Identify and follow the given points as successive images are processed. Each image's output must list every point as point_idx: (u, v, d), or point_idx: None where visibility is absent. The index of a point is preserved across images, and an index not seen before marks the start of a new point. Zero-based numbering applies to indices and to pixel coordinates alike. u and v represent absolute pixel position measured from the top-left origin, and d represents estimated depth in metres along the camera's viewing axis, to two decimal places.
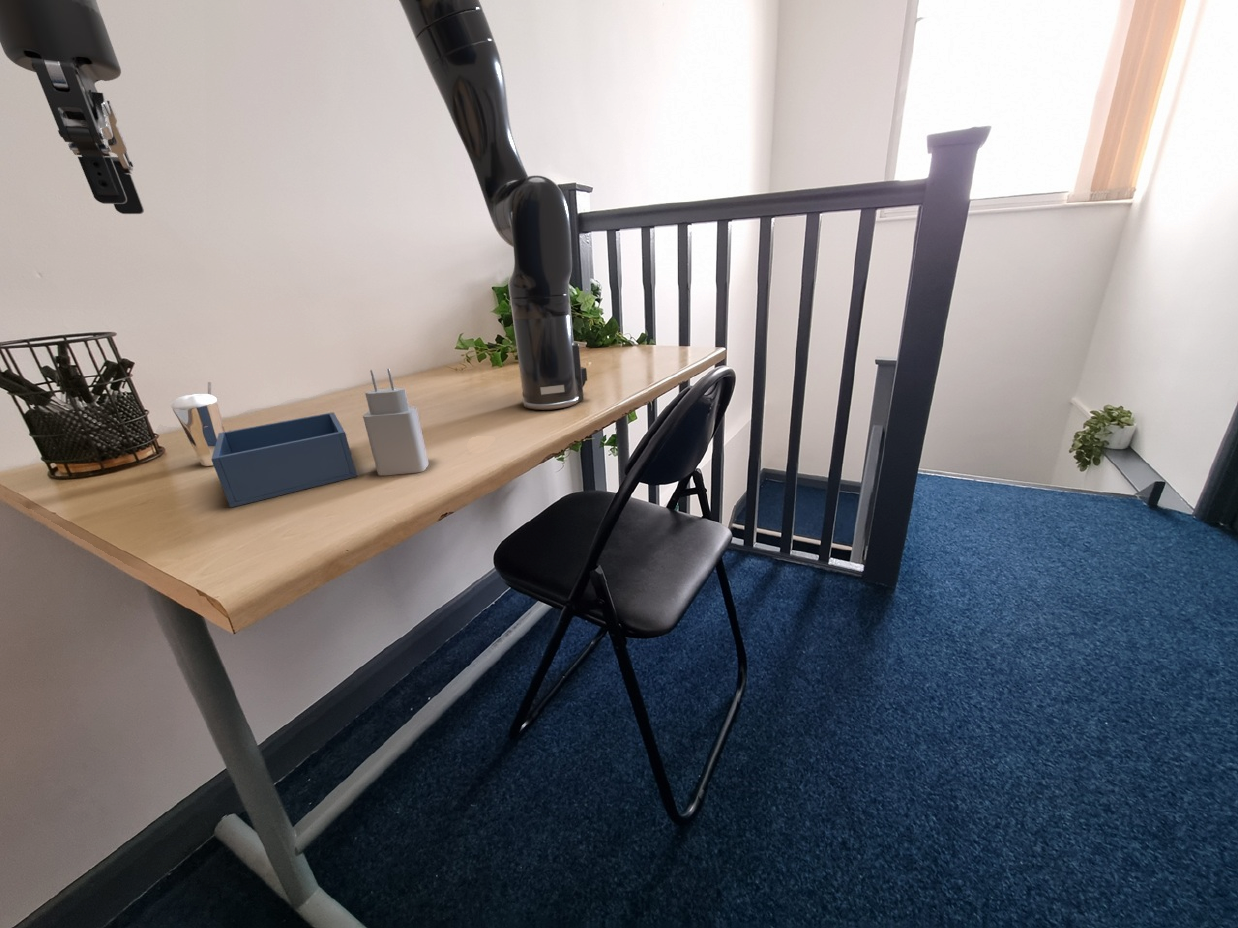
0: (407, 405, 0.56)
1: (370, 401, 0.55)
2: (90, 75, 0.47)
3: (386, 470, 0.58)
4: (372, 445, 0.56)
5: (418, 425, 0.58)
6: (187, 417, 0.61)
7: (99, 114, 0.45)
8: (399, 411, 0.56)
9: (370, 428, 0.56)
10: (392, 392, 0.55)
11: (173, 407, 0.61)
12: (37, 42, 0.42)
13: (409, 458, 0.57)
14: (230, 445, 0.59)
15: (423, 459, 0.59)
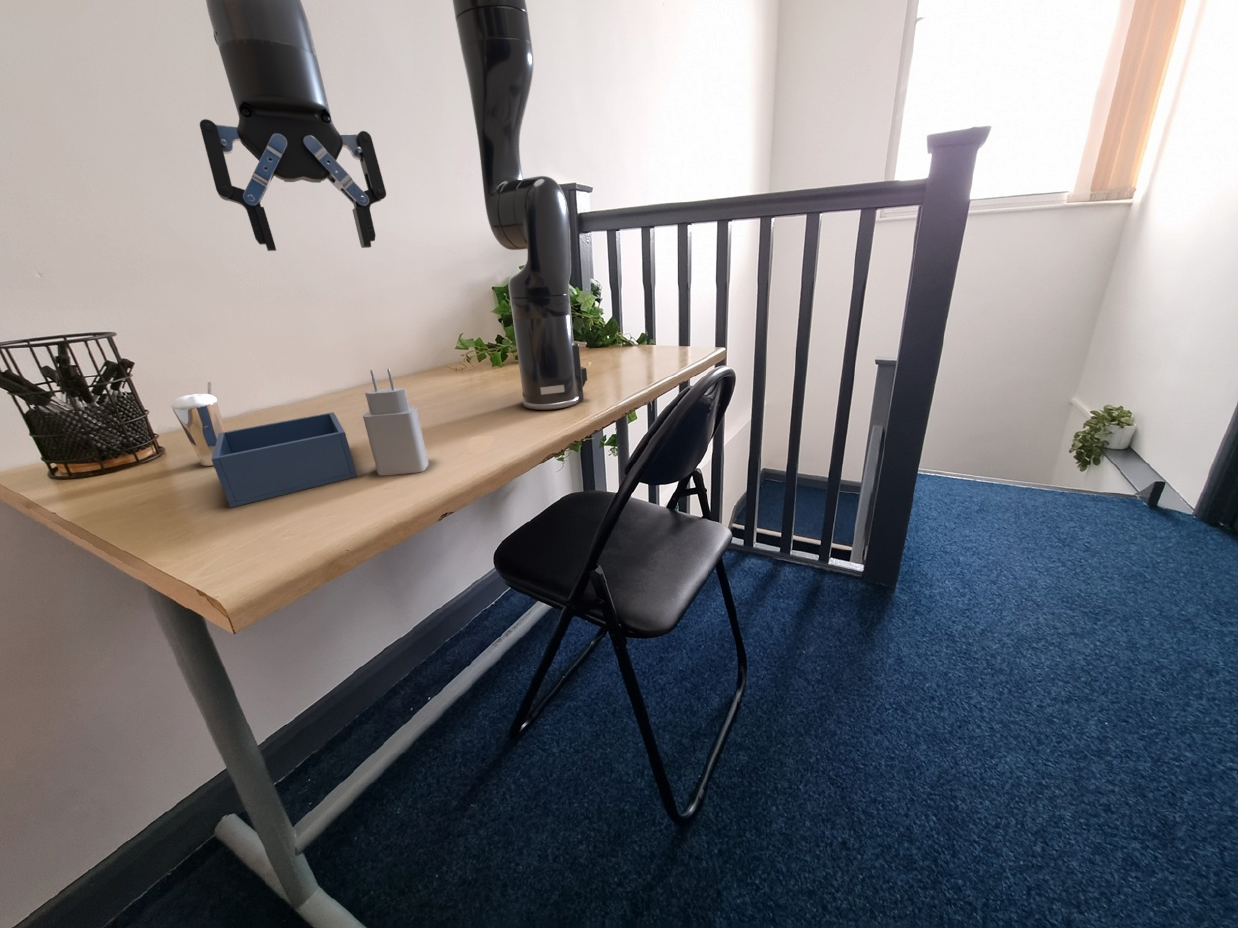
0: (407, 405, 0.56)
1: (370, 401, 0.55)
2: (293, 113, 0.45)
3: (386, 470, 0.58)
4: (372, 445, 0.56)
5: (418, 425, 0.58)
6: (187, 417, 0.61)
7: (259, 161, 0.45)
8: (399, 411, 0.56)
9: (370, 428, 0.56)
10: (392, 392, 0.55)
11: (173, 407, 0.61)
12: None
13: (409, 458, 0.57)
14: (230, 445, 0.59)
15: (423, 459, 0.59)
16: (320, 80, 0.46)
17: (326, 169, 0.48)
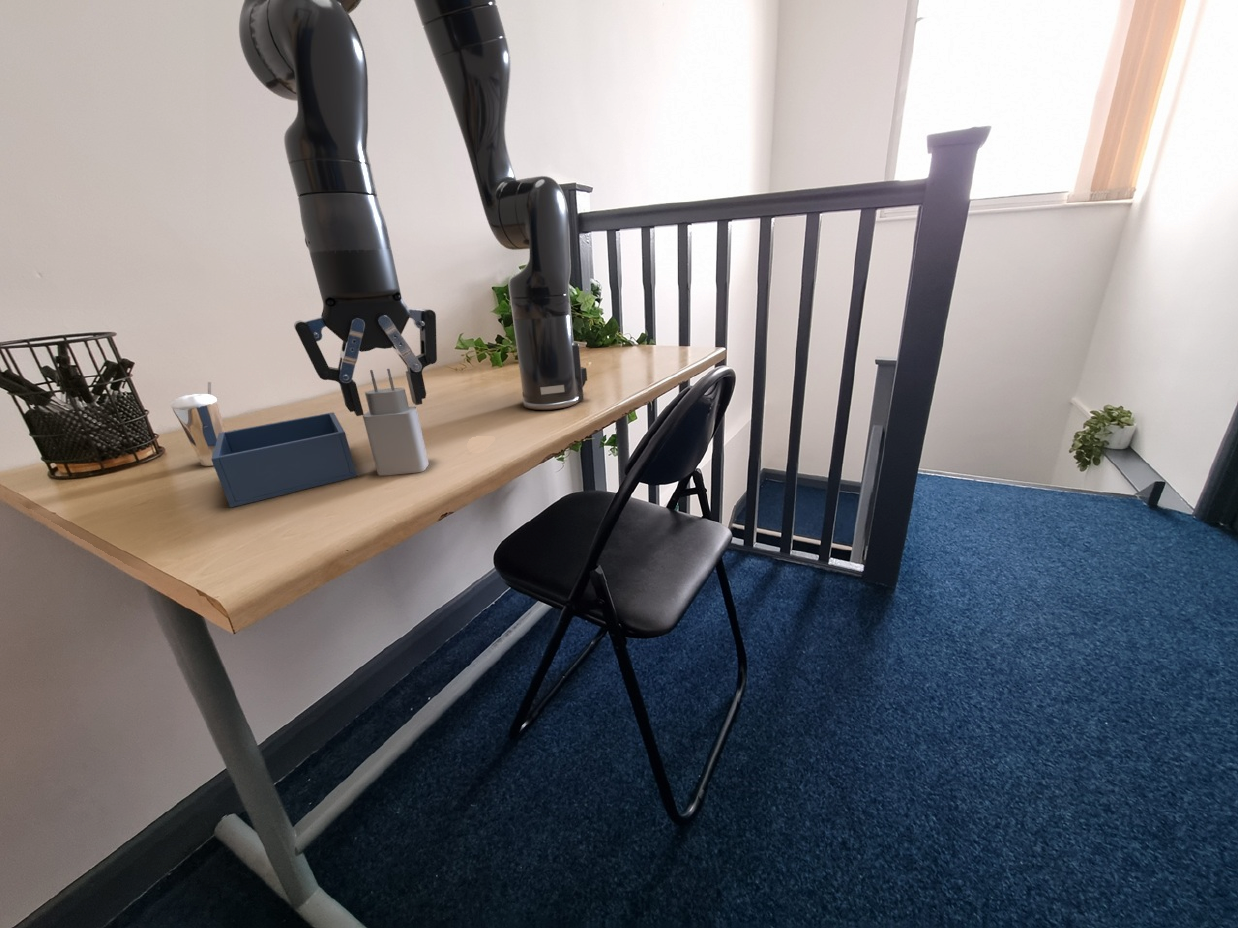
0: (407, 405, 0.56)
1: (370, 401, 0.55)
2: (370, 298, 0.51)
3: (386, 470, 0.58)
4: (372, 445, 0.56)
5: (418, 425, 0.58)
6: (187, 417, 0.61)
7: None
8: (398, 411, 0.56)
9: (370, 428, 0.56)
10: (392, 392, 0.55)
11: (173, 407, 0.61)
12: None
13: (409, 458, 0.57)
14: (230, 445, 0.59)
15: (423, 459, 0.59)
16: (394, 268, 0.51)
17: (396, 339, 0.54)
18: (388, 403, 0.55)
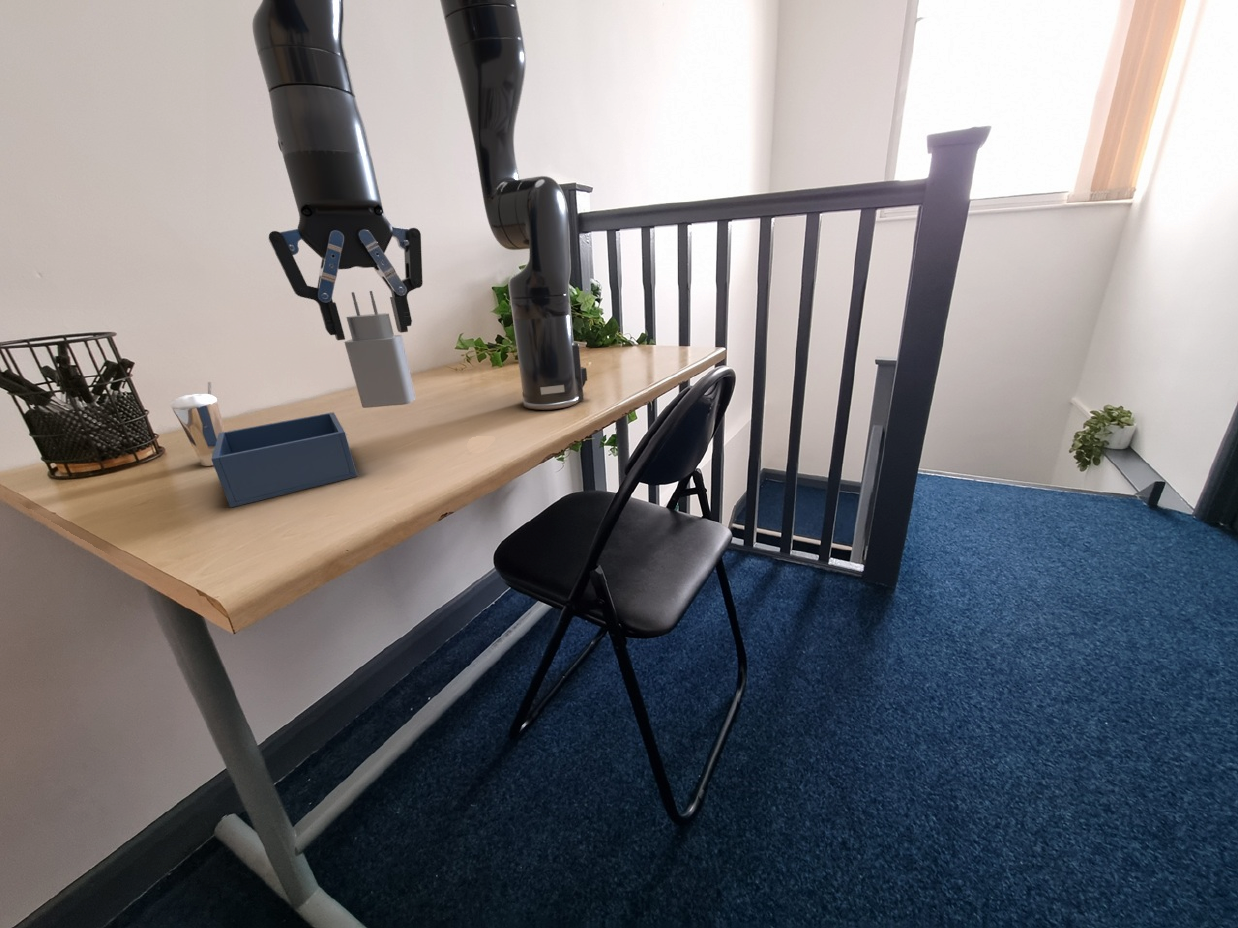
0: (391, 331, 0.53)
1: (352, 326, 0.52)
2: (349, 210, 0.48)
3: (370, 402, 0.55)
4: (355, 374, 0.54)
5: (404, 354, 0.55)
6: (187, 417, 0.61)
7: None
8: (382, 337, 0.53)
9: (353, 355, 0.53)
10: (375, 316, 0.52)
11: (173, 407, 0.61)
12: None
13: (394, 389, 0.54)
14: (230, 445, 0.59)
15: (410, 391, 0.56)
16: (374, 178, 0.48)
17: (378, 258, 0.51)
18: (371, 328, 0.52)
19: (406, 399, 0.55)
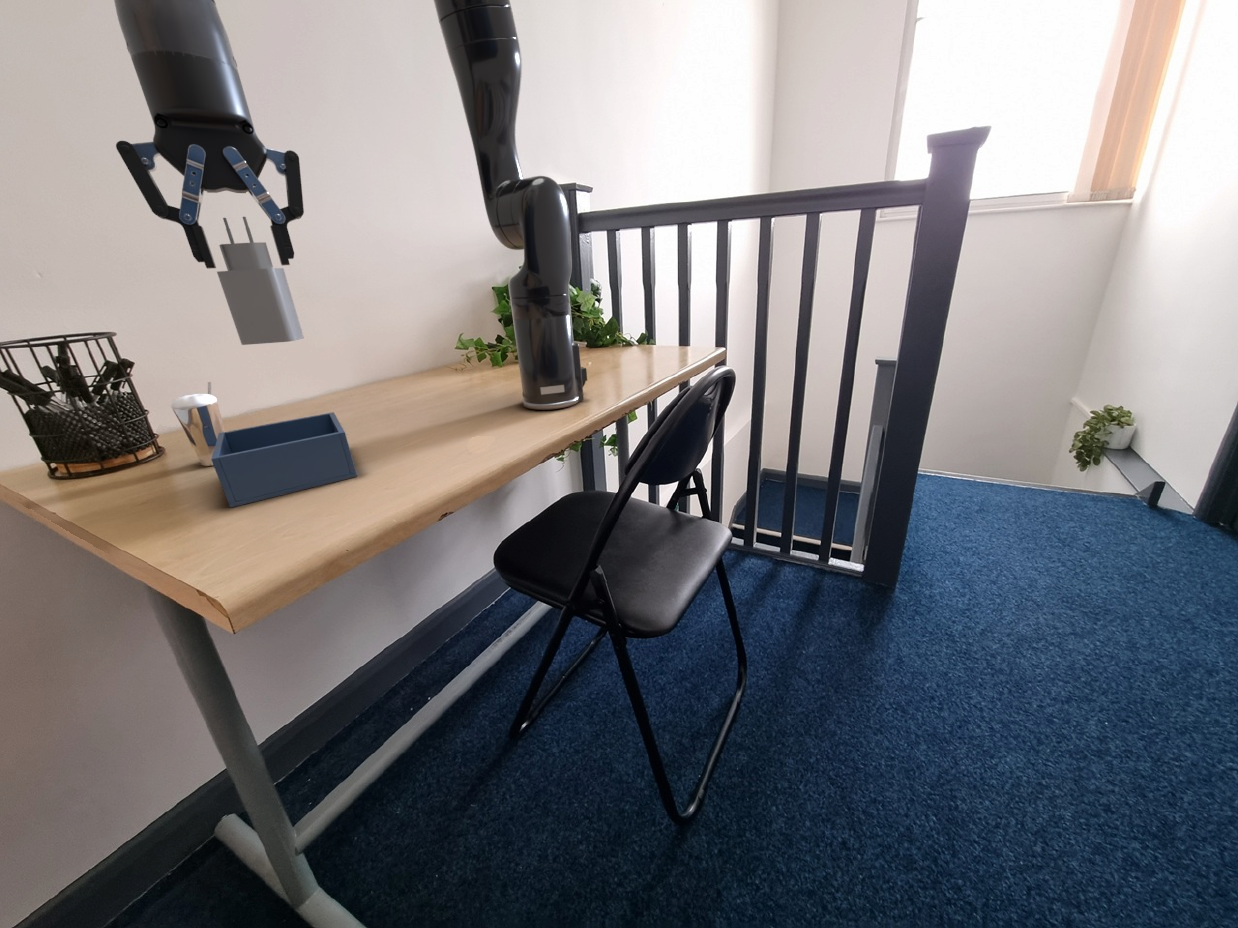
0: (269, 262, 0.50)
1: (224, 254, 0.49)
2: (212, 124, 0.45)
3: (249, 339, 0.52)
4: (230, 307, 0.50)
5: (286, 288, 0.52)
6: (187, 417, 0.61)
7: None
8: (258, 267, 0.50)
9: (226, 285, 0.49)
10: (248, 243, 0.49)
11: (173, 407, 0.61)
12: None
13: (274, 324, 0.51)
14: (230, 445, 0.59)
15: (293, 328, 0.53)
16: (240, 91, 0.45)
17: (249, 180, 0.48)
18: (245, 257, 0.49)
19: (288, 336, 0.52)
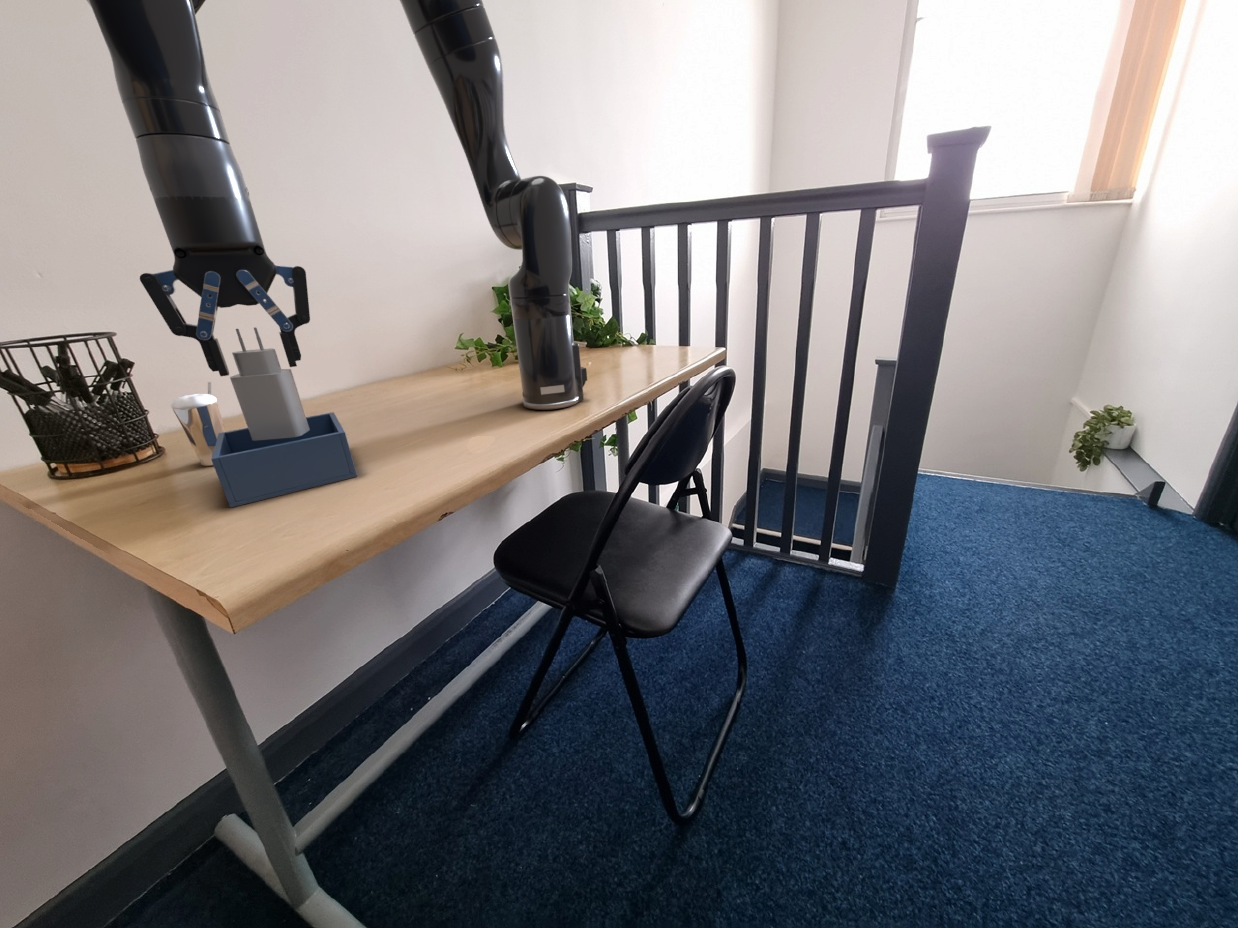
0: (278, 366, 0.54)
1: (236, 362, 0.53)
2: (226, 251, 0.49)
3: (259, 435, 0.56)
4: (242, 408, 0.54)
5: (294, 388, 0.56)
6: (187, 417, 0.61)
7: None
8: (268, 372, 0.54)
9: (238, 389, 0.54)
10: (259, 352, 0.53)
11: (173, 407, 0.61)
12: None
13: (283, 422, 0.55)
14: (230, 445, 0.59)
15: (300, 424, 0.57)
16: (252, 220, 0.49)
17: (260, 296, 0.52)
18: (256, 363, 0.53)
19: (295, 432, 0.56)
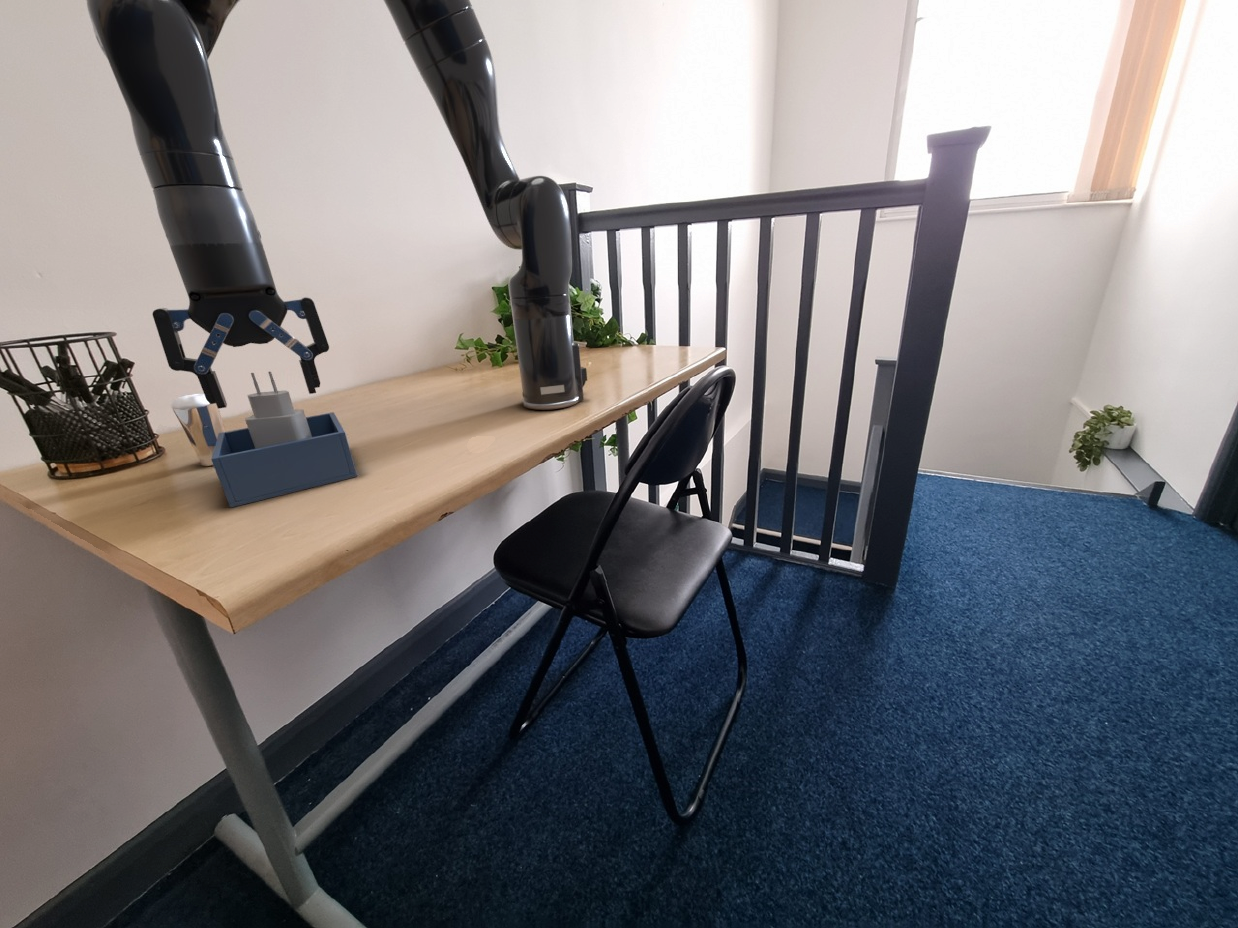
0: (292, 408, 0.56)
1: (252, 404, 0.55)
2: (239, 292, 0.51)
3: None
4: (256, 448, 0.56)
5: (306, 428, 0.58)
6: (187, 417, 0.61)
7: None
8: (282, 414, 0.56)
9: (253, 431, 0.55)
10: (273, 395, 0.55)
11: (173, 407, 0.61)
12: None
13: None
14: (230, 445, 0.59)
15: None
16: (264, 262, 0.51)
17: (271, 335, 0.53)
18: (270, 406, 0.55)
19: None
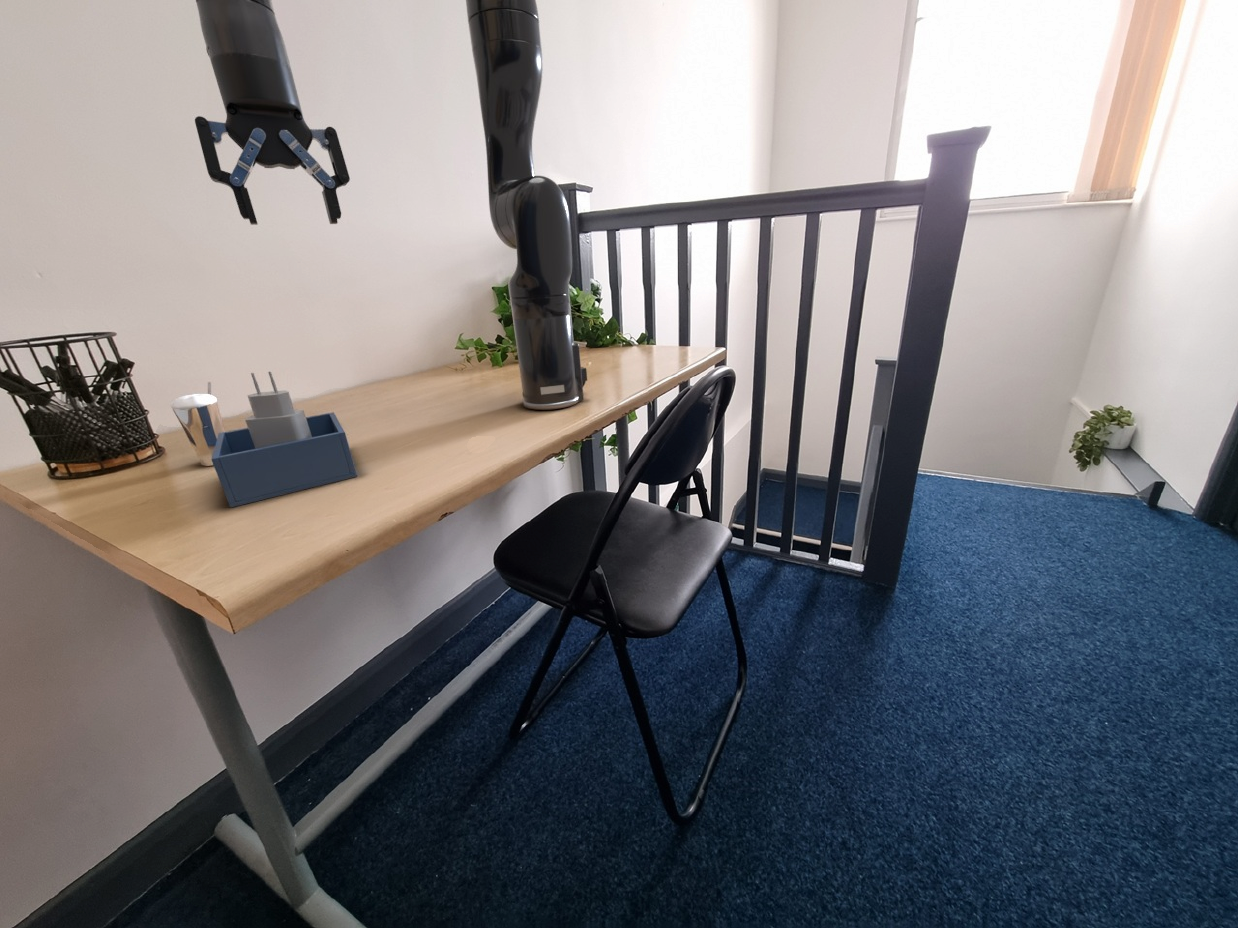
0: (292, 408, 0.56)
1: (252, 404, 0.55)
2: (271, 112, 0.56)
3: None
4: (256, 448, 0.56)
5: (306, 428, 0.58)
6: (187, 417, 0.61)
7: (243, 150, 0.56)
8: (282, 414, 0.56)
9: (253, 431, 0.55)
10: (273, 395, 0.55)
11: (173, 407, 0.61)
12: None
13: None
14: (230, 445, 0.59)
15: None
16: (293, 85, 0.56)
17: (298, 157, 0.59)
18: (270, 406, 0.55)
19: None
